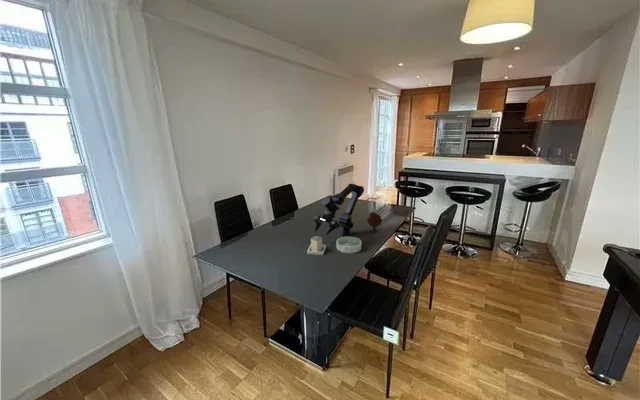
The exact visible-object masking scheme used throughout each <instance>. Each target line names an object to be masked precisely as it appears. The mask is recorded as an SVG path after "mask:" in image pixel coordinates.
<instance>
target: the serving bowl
mask: <svg viewBox="0 0 640 400" xmlns="http://www.w3.org/2000/svg"><path fill="white" fill-rule="evenodd" d="M335 243H336V244H335V247H336V250H337V251H338V252H341V253H343V254H357V253H359V252H360V251H361V250H362V240H361V239H360V238H358V237H355V236H341V237H339V238H338V239H336V242H335Z"/></svg>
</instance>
